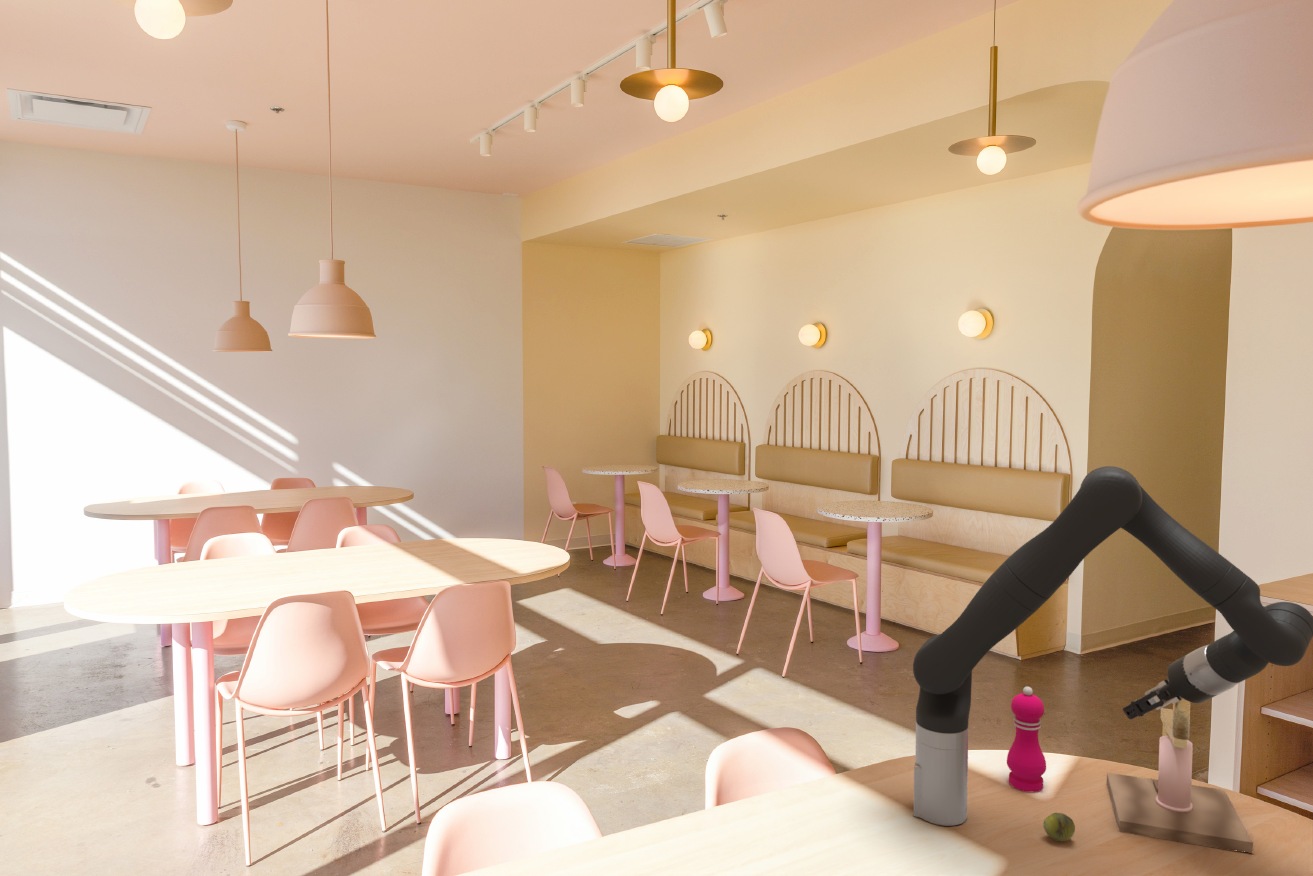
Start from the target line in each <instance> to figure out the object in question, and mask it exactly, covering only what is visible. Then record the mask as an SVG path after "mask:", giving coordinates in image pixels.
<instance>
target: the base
mask: <svg viewBox="0 0 1313 876" xmlns="http://www.w3.org/2000/svg"><path fill="white" fill-rule="evenodd" d="M1106 785H1107V789H1108V793H1109V797H1110V800H1111V801H1110V802H1111V804H1112V808H1113V812H1114V813H1113V814H1114V816H1115V819H1116V824H1117V825H1116V826H1117V827H1118V831H1119V832H1120V833H1126V834H1130V835H1131V834H1132V835H1138V836H1144V837H1148V838H1149V837H1151V838H1156V839H1161V840H1166V841H1167V840H1168V841H1173V842H1180V843H1184V844H1185V843H1186V844H1191V845H1198V846H1204V847H1209V848H1216V849H1220V850H1226V851H1232V850H1237V851H1243V852H1244V851H1245V852H1249V853H1253V854H1254V851H1253V850H1254V841H1253V840H1252V838H1251V836H1250V834H1249V833H1248V830H1247V829H1246V827H1245V825H1244V823H1243V821H1242V820H1241V817H1240V816H1239V813H1238V812H1237V810H1236V808H1235V806H1234V805H1233V803H1232V801H1231V799H1230V797H1229V795H1228V793H1227V792H1226V790H1225V789H1222V788H1221V789H1220V788H1213V787H1209V786H1208V787H1207V786H1201V785H1193V784H1191V803H1192V805H1193V807H1192V811H1190V812H1186V813H1180V812H1174V811H1170V810H1167V809H1164V808H1162V807H1161V806H1159V805H1158V804H1157V803H1156V796H1157V795H1158V779H1153V778H1146V777H1141V776H1134V775H1127V774H1119V773H1112V772H1106ZM1221 848H1222V849H1221ZM1227 849H1229V850H1227ZM1237 851H1236V852H1237ZM1243 852H1242V853H1243ZM1249 853H1248V854H1249Z"/></svg>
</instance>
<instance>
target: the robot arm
mask: <svg viewBox="0 0 1313 876" xmlns="http://www.w3.org/2000/svg"><path fill="white" fill-rule="evenodd" d="M1081 481H1082V482H1081V484H1080V487H1079V488H1078V491H1077V492H1076V494H1075V495H1074V496H1073V498H1072V499H1071V500H1070V502H1069V503H1068V504H1067V505H1066V507H1065V508H1064V509H1063V510H1062V511H1061V513H1060V514H1059V515H1058V516H1057V517H1056V519H1054V521H1053V522H1052V523H1051V524H1050V525H1048V526H1047V527H1046V528H1045V529H1044V530H1042V531H1041V532H1039V533H1038V534H1036V535H1035V536H1033V537H1032V538H1031V539H1029V540H1028V541H1027V542H1025V543H1024V544H1023V545H1022V546H1020V547H1019V548H1018V549H1017V550H1015V551H1014V552H1013V553H1012V554H1011V555H1010V556H1008V558H1007V559H1005V560H1004V561H1003V562H1002V563H1001V565H1000V566H998V568H997V569H996V570H995V571H993V573H992V574H991V575H990V576H989V577H988V578H987V580H986V581H985V582H984V583H983V584H982V586H980V588H979V589H978V591H977V592H976V593H975V595H974V596H973V597H972V599H971V600H970V601H969V603H968V604H967V606H966V607H965V608H964V610H963V611H962V613H961V614H960V615H959V617H958V618H957V619H956V620H955V621H954V622H953V623H952V624H951V625H949V626H948V627H947V628H946V629H945V630H944V631H943V632H941V633H939V634H938V633H937V634H935V635H932V636H931V637H929V638H928V639H927V640H926V641H925V642H924V643H923V644H922V646H920V647H919V649H918V651H917V652H916V653H915V655H914V658H913V665H912V671H913V677H914V679H915V681H916V683H917V684H918V686H919V694H918V699H917V703H916V707H915V759H914V760H915V762H914V766H913V813H912V814H913V816H914V817H915V818H916V817H917V818H920V819H922V820H924V821H926V822H929V823H931V824H934V825H938V826H947V827H948V826H952V827H953V826H959V825H961V824H963V823H965V822H966V820H967V818H968V776H969V775H968V773H969V772H968V769H969V765H968V764H969V762H968V761H969V721H970V720H969V718H970V712H971V704H972V679H973V675H972V674H973V670H974V668H975V667H976V666H977V665H978V664H979V663H980V661H981V660H982V659H983V658H984V657H985V655H986V654H988V653H989V651H990V650H991V649H992V648H994V647H995V646H996V645H997V644H998V643H1000V642H1001V641H1003V640H1004V639H1006V637H1008V635H1010V634H1011V633H1013V632H1014V631H1015V630H1016V629H1018V628H1019V627H1020V626H1021V625H1022V624H1024V623H1025V622H1026V621H1027V620H1028V619H1029V618H1030V617H1031V616H1032V615H1034V614H1035V613H1036V612H1037V611H1038V610H1039V609H1040V608H1041V607H1042V606H1043V605H1044V604H1046V602H1047V601H1048V600H1049V599H1050V598H1051V597H1052V596H1053V595H1054V594H1055V593H1056V592H1057V591H1058V590H1059V589H1060V587H1061V586H1062V585H1063V584H1064V583H1065V582H1066V581H1067V580H1068V579H1069V577H1070V576H1071V575H1072V574H1073V573H1074V571H1075V570H1076V569H1077V568H1078V567H1079V566H1080V564H1081V563H1082V561H1083V560H1084V559H1085V558H1086V557H1087V556H1088V555H1089V554H1090V553H1091V552H1092V551H1093V550H1094V549H1096V548H1097V547H1098V546H1100V544H1102V543H1103V542H1104V541H1105V540H1107V539H1108V538H1109V537H1110V536H1112V535H1113V534H1114V533H1116V532H1117V531H1119V530H1120V529H1122V530H1124V531H1125V532H1126V533H1128V534H1130V535H1131V536H1133V538H1135V539H1137V541H1139V542H1140V543H1142V545H1144V546H1145V547H1146V548H1147V549H1149V550H1150V551H1151V552H1152V553H1153V554H1154V555H1155V556H1156V557H1157V558H1158V559H1160V561H1161V562H1162V563H1163V564H1164V565H1165V566H1166V567H1167V568H1168V569H1169V570H1170V571H1171V572H1172V573H1173V574H1175V576H1176V577H1178V579H1179V580H1181V582H1182V583H1184V584H1185V585H1186V586H1187V587H1188V588H1190V589H1191V591H1193V592H1194V593H1195V594H1197V595H1198V597H1201V599H1203V600H1204V601H1205V602H1207V603H1208V604H1209V606H1212V607H1213V608H1214V609H1215V610H1217V611H1218V612H1219V613H1220V615H1221V616H1222V617H1223V619H1224V620H1225V621H1226V623H1227V624H1228V626H1230V628H1231V629H1232V631H1231V632H1230V633H1228V634H1226V635H1223V636H1222V637H1220V638H1218V639H1216V640H1214V641H1213V642H1211V643H1209V644H1206V645H1203V646H1200V647H1199V648H1196V649H1195V650H1194V649H1193V651H1191V652H1189V653H1188V654H1186V655H1183V656H1182V657H1180V658H1178V659H1176V660H1174V661H1173V662H1171V663H1170V664H1169V665H1168V667H1167V672H1166V675H1167V678H1166V679H1163V680H1162V681H1160V682H1158V684H1157V685H1156V686H1154V687H1152V688H1151V689H1148V690H1146V691H1145V692H1144V696H1142V697H1140V698H1137V699H1135V700H1134V701H1131V702H1130V703H1129V704H1128V705H1126V706H1124V707H1123V708H1122V711H1123V713H1124V714H1125V715H1126V717H1127V718H1128V719H1129V720H1134V719H1136V718H1137V717H1139V718H1140V717H1141V718H1142V717H1143V716H1144V715H1147V714H1148V713H1149V712H1151V711H1153V710H1157V711H1159V710H1161V708H1166V707H1167V706H1168V705H1170V704H1172V705H1173V704H1174V703H1176V702H1178V701H1180V700H1182V698H1183V699H1185V700H1187V701H1189V702H1190V703H1192V704H1193V703H1194V704H1202V703H1204V702H1206V701H1208V700H1210V699H1212V698H1214V697H1216V696H1218V695H1221V694H1222V693H1225V692H1227V691H1229V690H1231V689H1232V688H1234V687H1235V686H1237V685H1238V684H1240V683H1241V682H1244V681H1245V680H1248V679H1249V678H1252V677H1253V676H1256V675H1258V674H1259V673H1260V672H1262V671H1263V670H1264V669H1266V667H1267V666H1268V664H1269V663H1270V664H1272V665H1275V666H1279V667H1290V666H1294V665H1296V664H1298V663H1300V661H1302V659H1303V658H1304V656H1305V654H1306V652H1307V649H1308V647H1309V645H1310V643H1311V641H1312V639H1313V615H1312V613H1311V612H1310V611H1309V610H1308V609H1307V608H1305V607H1304V606H1303V605H1300V604H1297V603H1294V602H1291V601H1278V602H1274V603H1270V604H1267V605H1265V606H1264V605H1263V604H1262V601H1261V589H1260V586H1259V585H1258V584H1257V582H1256V581H1255V580H1253V579H1252V578H1251V577H1250V576H1248V575H1247V574H1246V573H1245V572H1244V571H1242V570H1241V569H1240V568H1239V567H1237V566H1236V565H1235V564H1234V563H1232V562H1231V561H1230V560H1229V559H1227V558H1225V557H1224V556H1223V555H1222V554H1221V553H1219V552H1218V551H1216V550H1215V549H1214V548H1212V547H1211V546H1210V545H1208V544H1207V543H1206V542H1204V541H1203V540H1201V539H1200V538H1198V537H1197V536H1196V535H1195V534H1193V533H1192V532H1191V531H1189V529H1187V528H1186V527H1184V526H1183V525H1182V524H1181V523H1180V522H1178V521H1177V520H1176V519H1175V518H1174V517H1172V516H1171V515H1170V514H1169V513H1168V512H1167V511H1165V510H1164V508H1163V507H1161V506H1160V504H1158V503H1157V502H1156V501H1155V500H1154V499H1153V497H1151V495H1150V494H1149V493H1148V492H1147V491H1146V490H1145V489H1144V488H1143V487H1142V486H1141V484H1140V483H1139V481H1138V480H1137V478H1136V477H1135V476H1134V475H1133V474H1132V473H1131V472H1130V471H1128V470H1126V469H1124V468H1122V467H1118V466H1114V465H1113V466H1111V465H1110V466H1109V465H1107V466H1100V467H1098V468H1095V469H1093V470H1091V471H1089V472H1088V473H1087V474H1086V475H1085V477H1084V478H1083V480H1081Z"/></svg>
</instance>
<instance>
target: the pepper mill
mask: <svg viewBox="0 0 1313 876" xmlns="http://www.w3.org/2000/svg"><path fill="white" fill-rule="evenodd" d="M1033 693H1034V692H1033V688H1032V687H1030V686H1025V687H1024V688H1023V690H1022V693H1018V694H1017V695H1015V696H1013V698H1012V700H1011V702H1010V703H1011V704H1010V708H1011V712H1012V713H1013V714H1014V716H1013V721H1012V722H1013V725H1014V726H1015V736H1014V740H1013V742H1012V745H1011V746H1010V749H1009V750H1008V752H1007V756H1006V757H1007V758H1006V765H1007V767H1008V769H1009V774H1008V783H1009V785H1010V786H1011V787H1012V788H1014V789H1016V790H1018V791H1022V792H1026V793H1038V792H1041V791H1042V790H1043V789H1044V777H1043V775H1044V774H1046V773H1045V772H1046V771H1047V761H1046V758H1045V755H1044V752H1043V750H1042V749H1041V746H1040V742H1039V729H1041V728H1042V725H1041V723H1042V720H1041V718H1043V716H1044V714H1045V706H1044V703H1043V701H1042V700H1041V698H1040V697H1039V696H1037V695H1034V694H1033Z"/></svg>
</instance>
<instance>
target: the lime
mask: <svg viewBox="0 0 1313 876" xmlns="http://www.w3.org/2000/svg"><path fill="white" fill-rule="evenodd" d="M1043 828H1044V831H1045V833H1046V834H1047V836H1048V837H1050V838H1051V839H1053V840H1054V841H1055V842H1067V841H1069V840H1071V838H1072V837H1073V836H1074V834H1075V831H1076V825H1075V822H1074V820H1073V819H1072V817H1070V816H1069V815H1067V814H1065V813H1062V812H1057V813H1056V812H1054V813H1052V814H1050V815H1048V816H1045V818H1044V820H1043Z"/></svg>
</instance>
